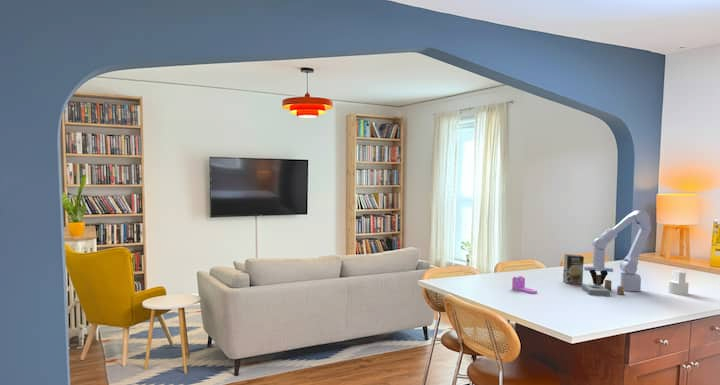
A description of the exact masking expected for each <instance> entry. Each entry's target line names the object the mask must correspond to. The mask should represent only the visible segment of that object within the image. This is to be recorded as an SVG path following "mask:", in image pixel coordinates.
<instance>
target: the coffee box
mask: <svg viewBox="0 0 720 385" xmlns="http://www.w3.org/2000/svg"><path fill="white" fill-rule="evenodd" d="M563 258H564V259H563V274H562V275H563V276H562V282H563V283H564V284H569V285H571V284H573V285H582V284H583V280H584V279H583V278H584V261H585V260H584V259H585V256H583V255H581V254H569V253H568V254H566V253H565V254H564V257H563Z"/></svg>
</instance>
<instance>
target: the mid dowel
mask: <svg viewBox="0 0 720 385" xmlns="http://www.w3.org/2000/svg"><path fill="white" fill-rule="evenodd" d="M604 287H605V288H606V289H608V290H609V291H610V292H611V291H612V280H610V279H604Z"/></svg>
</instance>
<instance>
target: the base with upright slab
mask: <svg viewBox="0 0 720 385" xmlns="http://www.w3.org/2000/svg"><path fill="white" fill-rule="evenodd" d="M686 274H687V273H686V272H685V271H683V270H680V269H672V274H671V276H672V277H671V280H668V286H667V287H668V291H667V292H668V294H672V295H676V296H688V295H689V282H688V281H687V282H686V278H687V277H686V276H687V275H686Z"/></svg>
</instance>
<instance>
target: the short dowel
mask: <svg viewBox="0 0 720 385" xmlns="http://www.w3.org/2000/svg"><path fill="white" fill-rule="evenodd" d="M616 294H617V295H619V296H624V295H625V291H624V287H623V286H620V285H617V288H616Z"/></svg>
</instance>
